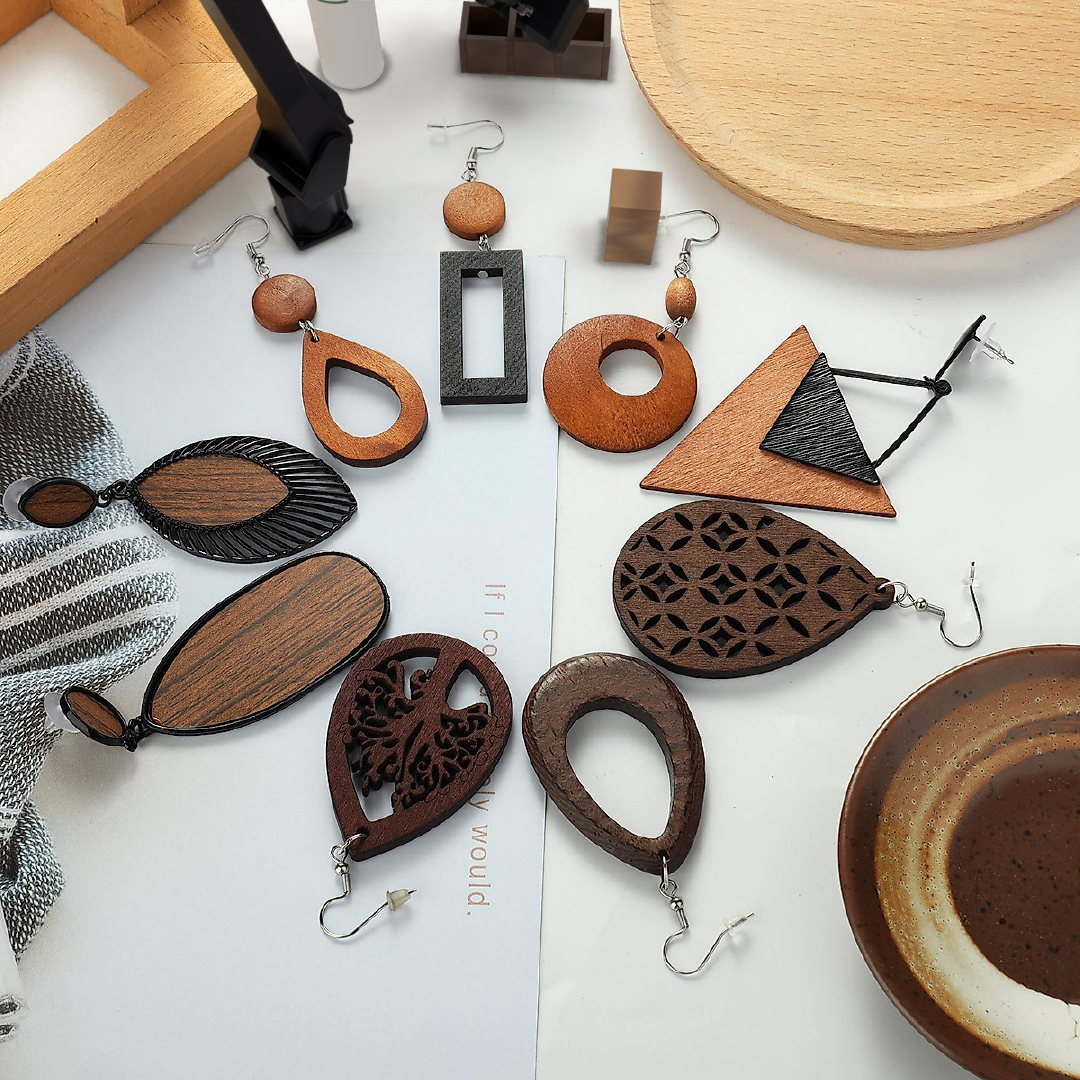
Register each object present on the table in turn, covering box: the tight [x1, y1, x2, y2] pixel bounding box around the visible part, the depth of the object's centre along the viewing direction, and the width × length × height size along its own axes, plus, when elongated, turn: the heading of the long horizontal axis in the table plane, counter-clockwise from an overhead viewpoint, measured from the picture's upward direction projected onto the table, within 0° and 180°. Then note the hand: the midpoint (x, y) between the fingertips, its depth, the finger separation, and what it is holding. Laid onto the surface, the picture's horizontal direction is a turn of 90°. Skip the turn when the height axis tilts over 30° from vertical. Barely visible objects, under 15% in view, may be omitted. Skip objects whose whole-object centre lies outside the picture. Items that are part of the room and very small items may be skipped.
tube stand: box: [603, 167, 663, 265], centre depth 99 cm, size 5×5×8 cm
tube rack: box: [458, 0, 613, 81], centre depth 112 cm, size 17×6×4 cm, turn 87°
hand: (544, 6), depth 109 cm, fingers closed on test tube, 3 cm apart
